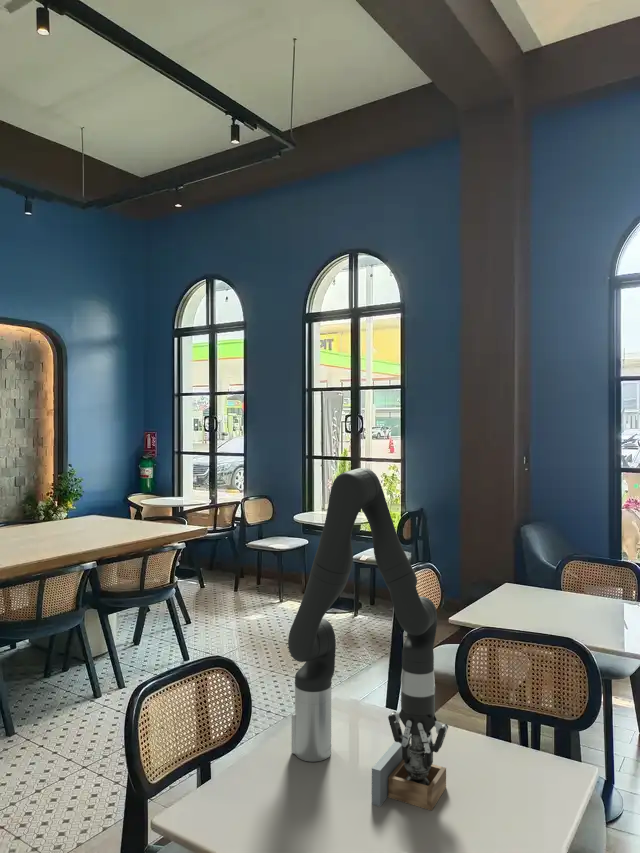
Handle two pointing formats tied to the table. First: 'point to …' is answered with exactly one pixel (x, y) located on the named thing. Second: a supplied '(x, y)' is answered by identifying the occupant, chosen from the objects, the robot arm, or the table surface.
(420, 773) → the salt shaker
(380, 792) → the backstop board
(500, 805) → the table surface
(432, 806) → the socket block
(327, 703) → the robot arm
